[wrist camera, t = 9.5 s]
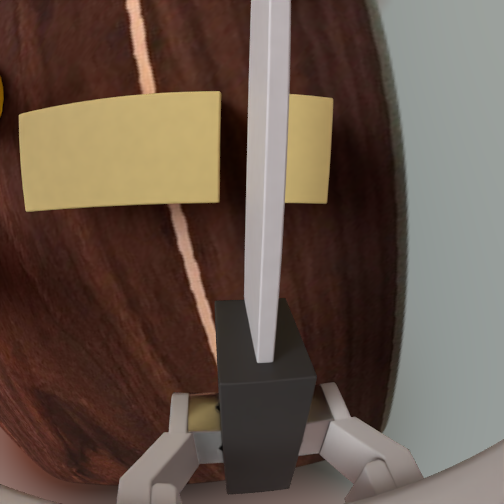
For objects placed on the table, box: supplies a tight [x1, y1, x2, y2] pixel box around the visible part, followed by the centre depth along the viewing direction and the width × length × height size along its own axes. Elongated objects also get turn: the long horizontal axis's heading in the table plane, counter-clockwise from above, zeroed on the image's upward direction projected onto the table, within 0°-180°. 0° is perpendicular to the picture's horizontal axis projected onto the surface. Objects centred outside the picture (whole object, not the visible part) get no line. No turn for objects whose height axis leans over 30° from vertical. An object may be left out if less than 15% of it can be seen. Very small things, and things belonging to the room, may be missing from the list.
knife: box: [215, 0, 317, 494], centre depth 8 cm, size 2×15×4 cm, turn 179°
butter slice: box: [285, 94, 333, 204], centre depth 13 cm, size 4×2×4 cm, turn 179°
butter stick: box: [19, 91, 221, 212], centre depth 12 cm, size 4×8×4 cm, turn 88°
